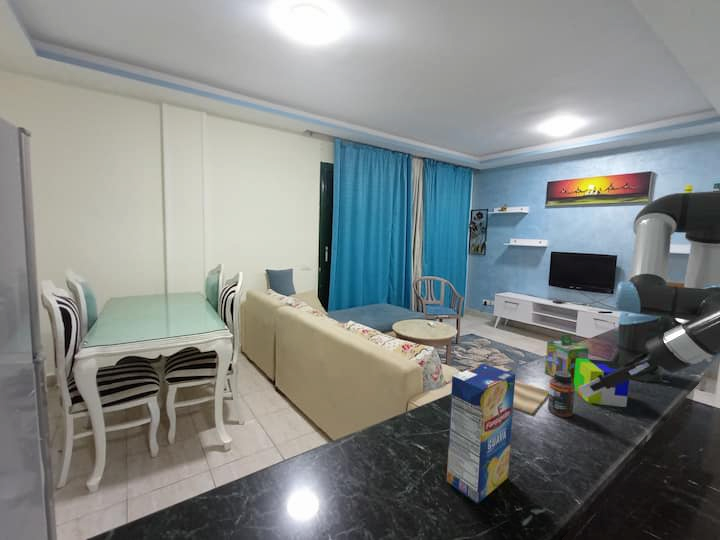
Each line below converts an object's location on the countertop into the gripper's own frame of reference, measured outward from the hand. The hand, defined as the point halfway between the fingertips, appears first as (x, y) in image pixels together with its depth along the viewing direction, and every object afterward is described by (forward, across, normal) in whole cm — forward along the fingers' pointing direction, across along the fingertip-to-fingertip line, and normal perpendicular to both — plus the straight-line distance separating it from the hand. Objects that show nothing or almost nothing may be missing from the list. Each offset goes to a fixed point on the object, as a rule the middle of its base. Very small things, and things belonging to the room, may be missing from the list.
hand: (582, 392), depth 86 cm
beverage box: (+8, -41, -4) cm, 42 cm away
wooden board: (+17, 0, +6) cm, 18 cm away
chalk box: (+17, +28, +4) cm, 32 cm away
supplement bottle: (+10, +1, -2) cm, 10 cm away
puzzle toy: (+8, +20, -4) cm, 22 cm away
